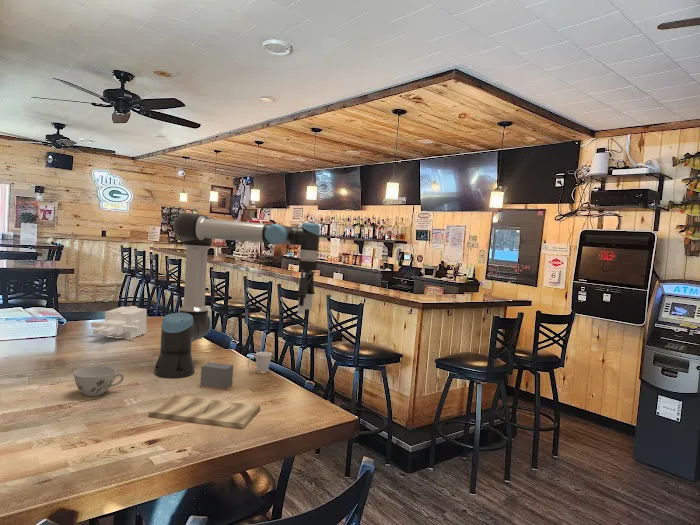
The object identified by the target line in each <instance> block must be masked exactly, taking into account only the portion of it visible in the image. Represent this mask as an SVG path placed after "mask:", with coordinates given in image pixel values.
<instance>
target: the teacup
mask: <svg viewBox="0 0 700 525" xmlns="http://www.w3.org/2000/svg"><path fill="white" fill-rule="evenodd" d="M116 372H117V370H116V368H114V367H111V366H108V365H107V366H106V365H90V366H84V367H82V368H77V369H75V370H74V371H73V377H74V383H75V385H76V387H77V388H78V390H79V391H80V392H81V393H82V394H83V395H84V396H86V397H99V396H102V395H103V394H104V393H105V392H107V390H109V388H111V387H115V386H119V385H120V384H121V383H122V382H123V381H124V380H125V379H124V378H125V377H124V376H125V375H124V373H123V372H120V371H119V372H117V373H116ZM117 377H120V378H121V379H120V380H119V381H117V382H116V383H114V381H115V379H116V378H117Z"/></svg>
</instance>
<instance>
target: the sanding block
mask: <svg viewBox="0 0 700 525" xmlns="http://www.w3.org/2000/svg"><path fill="white" fill-rule="evenodd" d="M200 369H201V370H200V384H199V385H200V388H205V389H211V390H212V389H213V390H221V391H227V390H228V389H230V388H231V387H232V386H233V378H234V377H233V375H234V364H229V363H219V362H210V361H209V362H207V363H204V364H202V365H201V368H200Z"/></svg>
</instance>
